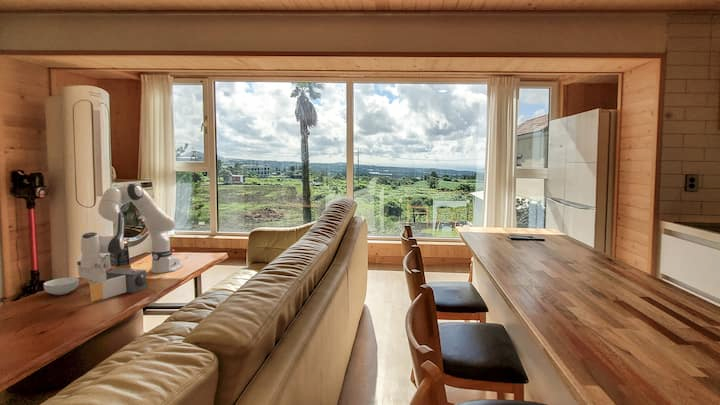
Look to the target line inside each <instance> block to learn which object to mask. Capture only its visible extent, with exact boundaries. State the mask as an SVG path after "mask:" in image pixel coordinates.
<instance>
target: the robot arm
mask: <svg viewBox="0 0 720 405" xmlns="http://www.w3.org/2000/svg"><path fill="white" fill-rule="evenodd" d="M129 203H132V204H133V205H134V207H136V209H137V210H138V212H139V213H140V214H141V215H142V216H143V217H145V219H144V221H143V222H144V223H143V224H144V226H145V228H146V229H147V231H148V233H149V236H150V239H151V248H152V251H151V257H152V258H151V267H150V272H151V273H154V274H164V273H168V272H169V273H171V272H173V273H174V272H176V271H177V270H179V269H181V268H183V267H184V266H185V265H184V264H182V263H181V260H180V258H179V257H177V256H175V254H173V253H175V251H176V250H175V249H171V243H170V237H169V236H168V235H167V233H169V232H171V231H173V230H174V229H175V228H176V220H175V219H174V218H173V217H171V216H170V215H168V214H167V213H166V212H165V211H164V210H163V209H162V208H161V207H160V206H158V204H157V202H156V201H155V200H154V198H152V197H151V195H150V194H149V193H148V191H146V189H144V188H143V187H142V186H141V185H140V184H138V183H130V184H125V185H121V186H118V187H116V188H115V187H110V188H107V189H106V190H105V191H104V193H103V194H102V195H101V199H100V201H99V204H98V208H97V212H98V215H100V216H101V218H103V219H105V220H107V221H110V222H113V223H114V233H113V235H110V236H109V235H108V236H105V235H103V236H102V235H99V234H98V233H97V232H92V231H91V232H86V233H84V234H82V235H81V239H80V252H81V260H77V261H76V266H77V273H78V274H77V275H78V276H79V278H81V279H85V280H88V284H89V285H90V284H94V283H97V282H103V281H106V272H105V269H104V268H103V267H102V265H101V255H102V254H110V253H111V254H118V253H120V252H121V251H122V250H123V249H124V240H125V221H126V220H125V215H124V213H123V212H122V211H121V207H122V205H124V204H129Z"/></svg>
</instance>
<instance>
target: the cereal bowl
mask: <svg viewBox="0 0 720 405" xmlns="http://www.w3.org/2000/svg"><path fill="white" fill-rule="evenodd" d="M79 284H80V279H79V278H78V277H61V278H56V279H51V280H48V281H45V282H43V289H44V291H45V292H46V293H48V294H53V295H54V296H62V295H67V294H69V293H71V292H72V291H74V290H76V289H77V288H78V286H79Z"/></svg>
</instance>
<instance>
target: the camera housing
mask: <svg viewBox="0 0 720 405" xmlns="http://www.w3.org/2000/svg"><path fill="white" fill-rule="evenodd" d="M106 274H107V280H109V279H112V278H116V277H120V276H123V275H126V290H127V292H126V293H129V294H135V293H138V292H140V291H142V290H145V289H147V288H148V286H147V283H148V282H147V270H146V269H136V268H131V269H128V268H117V269H114V270H110V271H107V272H106Z"/></svg>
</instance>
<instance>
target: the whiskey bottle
mask: <svg viewBox="0 0 720 405" xmlns="http://www.w3.org/2000/svg"><path fill="white" fill-rule="evenodd" d="M129 245H130V242H128V241H127V240H125V239H124V249H123V250H122V251H121V252H120V253H118V254H111V253H109V254H110V258H111V269H112V270H114V269H117V268H128V269H132V266H131V265H132V264H130V262H131V261H130V252H129Z"/></svg>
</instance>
